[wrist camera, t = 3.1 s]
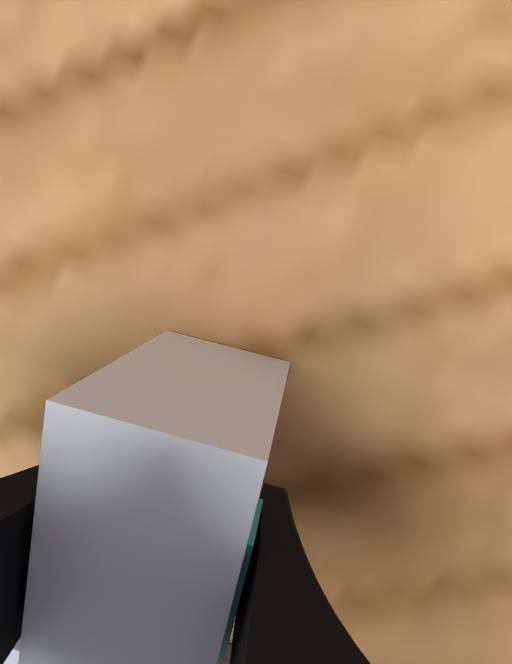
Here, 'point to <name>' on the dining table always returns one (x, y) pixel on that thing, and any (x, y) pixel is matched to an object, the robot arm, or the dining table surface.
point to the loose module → (149, 505)
